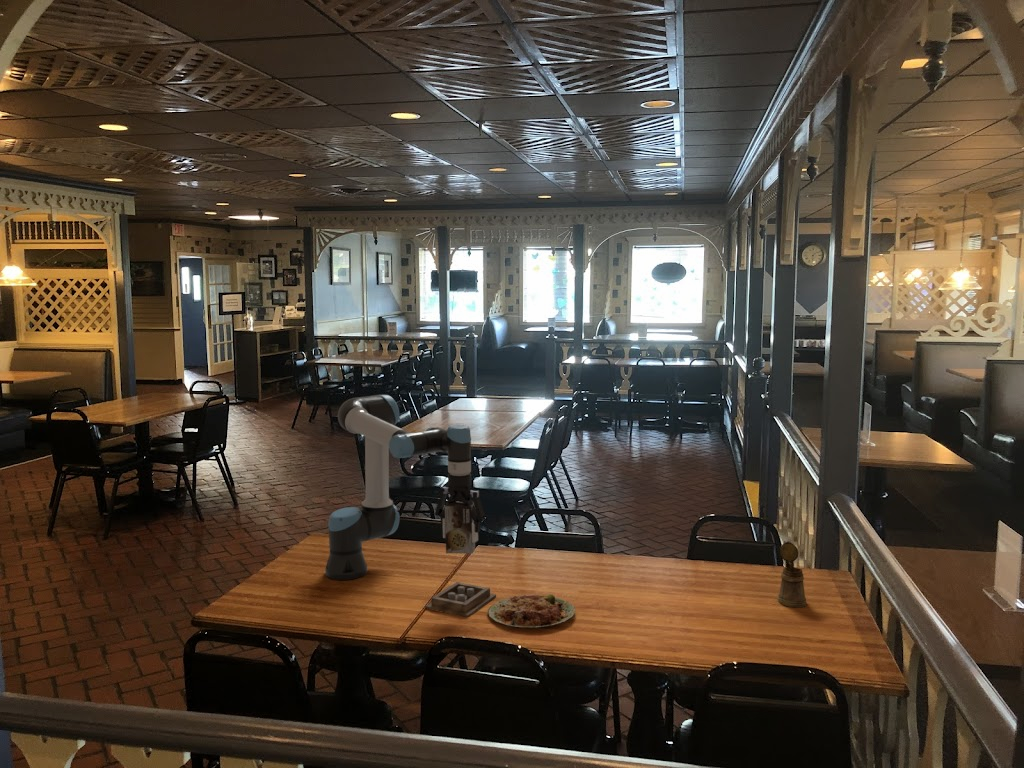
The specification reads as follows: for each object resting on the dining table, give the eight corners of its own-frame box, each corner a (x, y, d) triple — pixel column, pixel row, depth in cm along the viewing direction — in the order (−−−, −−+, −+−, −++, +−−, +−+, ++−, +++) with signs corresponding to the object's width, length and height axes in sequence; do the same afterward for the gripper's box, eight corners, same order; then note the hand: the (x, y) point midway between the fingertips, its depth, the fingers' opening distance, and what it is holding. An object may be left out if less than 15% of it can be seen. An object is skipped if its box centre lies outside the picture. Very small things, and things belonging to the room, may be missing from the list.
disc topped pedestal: (799, 592, 269) (801, 541, 267) (809, 608, 256) (811, 554, 254) (772, 591, 270) (774, 540, 268) (780, 607, 257) (782, 553, 255)
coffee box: (475, 547, 263) (475, 500, 261) (472, 554, 257) (472, 505, 255) (448, 547, 264) (447, 499, 262) (445, 553, 257) (444, 505, 256)
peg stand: (425, 608, 257) (424, 597, 257) (455, 588, 274) (455, 578, 274) (467, 617, 250) (467, 605, 250) (496, 596, 267) (496, 586, 266)
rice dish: (476, 609, 260) (475, 593, 259) (551, 592, 271) (550, 577, 270) (509, 643, 235) (508, 626, 234) (591, 624, 245) (590, 607, 245)
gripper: (423, 472, 259) (424, 537, 262) (484, 479, 249) (485, 547, 251) (435, 467, 266) (437, 531, 268) (496, 474, 255) (496, 540, 258)
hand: (460, 539), depth 260 cm, fingers closed on coffee box, 10 cm apart
